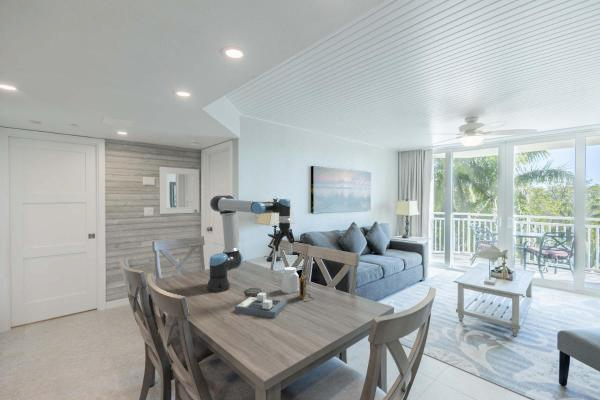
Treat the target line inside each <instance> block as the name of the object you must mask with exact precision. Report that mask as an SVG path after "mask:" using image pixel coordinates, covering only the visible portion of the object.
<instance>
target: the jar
mask: <svg viewBox="0 0 600 400" xmlns="http://www.w3.org/2000/svg"><path fill="white" fill-rule="evenodd" d="M299 291H300V287H299V274H298V273H297V268H296V267H294V266H287V267H284V268H283V273H282V274H281V292H283V293H285V294H292V293H297V292H299Z"/></svg>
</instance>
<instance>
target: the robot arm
mask: <svg viewBox="0 0 600 400" xmlns="http://www.w3.org/2000/svg"><path fill="white" fill-rule="evenodd" d="M209 205H210V209H212V210H213V211H214V212H219V216H221V217H222V230H223V231H222V232H223V244H224V250H223V251H222V252H220V253H215V254H212V255H210V258H209V264H208V265H209V279H208V282H207V285H206V291H207V292H211V293H222V292H225V291H226V292H227V291H228V290H229V289H230V288H231V287H230V285H231V284H230V281H229V279H228V272H229V271H232V270H236V269H237V268H239V267H240V266H242V264H243V262H244V255H243V254H242V252H240V249H239V248H238V246H237V234H236V232H237V231H236V222H235V215H236V214H237V212H238V213H239V212H240V213H251V214H256V215H261V214H263V215H264V214H278V229H279V230H276V233H275V237H274V240H273V243H272V245H273V246H274V247H275V257H281V253H280V252H281V246H280V244H281V242H282V241H283V238H284V237H286V239H287V240H288V246H287V247H288V253H291V254H293V247H294V246H293V244H294V243H295V237H294V234H293V229H292V228H291V200H290V199H289V198H280V199H279V200H278V201H254V200H253V201H252V200H241V199H237V198H236V197H235V196H233V195H214V196H213V197H212V198H211V200H210V202H209Z"/></svg>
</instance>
